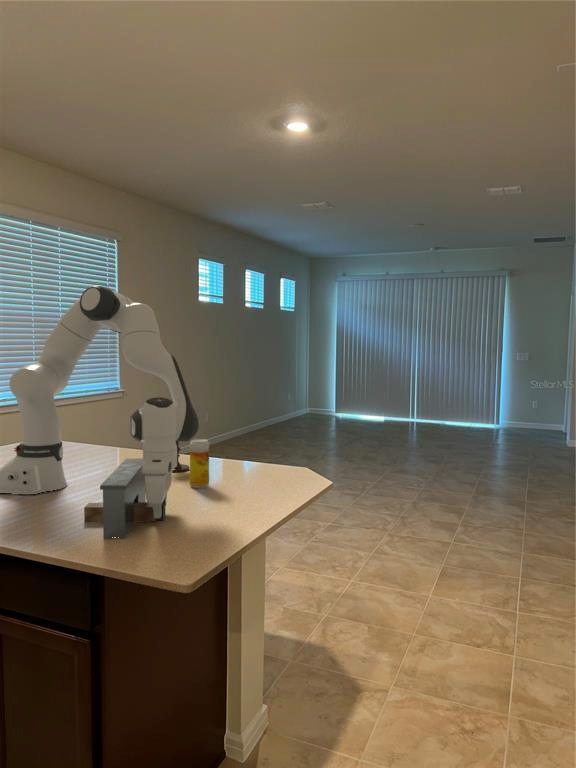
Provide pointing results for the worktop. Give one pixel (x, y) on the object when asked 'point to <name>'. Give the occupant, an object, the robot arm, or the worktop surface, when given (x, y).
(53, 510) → the worktop surface
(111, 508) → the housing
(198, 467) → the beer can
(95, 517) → the rod
